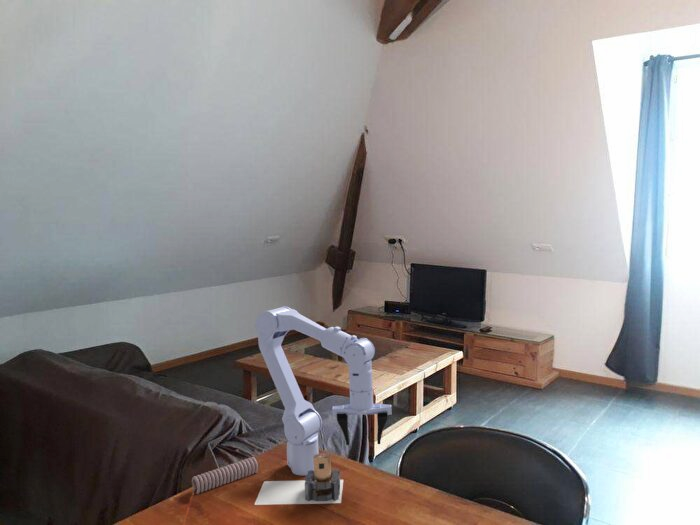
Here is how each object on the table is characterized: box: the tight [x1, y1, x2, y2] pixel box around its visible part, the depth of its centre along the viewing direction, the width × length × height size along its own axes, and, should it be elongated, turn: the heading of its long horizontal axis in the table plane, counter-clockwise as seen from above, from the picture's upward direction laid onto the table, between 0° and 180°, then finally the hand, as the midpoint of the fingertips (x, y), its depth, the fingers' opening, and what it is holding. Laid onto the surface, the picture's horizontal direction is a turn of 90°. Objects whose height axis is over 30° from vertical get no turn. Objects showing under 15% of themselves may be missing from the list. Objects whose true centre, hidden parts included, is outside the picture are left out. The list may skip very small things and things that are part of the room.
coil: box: [191, 456, 259, 496], centre depth 143 cm, size 5×5×18 cm
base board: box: [254, 479, 344, 506], centre depth 135 cm, size 20×12×1 cm, turn 88°
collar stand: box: [304, 469, 341, 501], centre depth 134 cm, size 8×8×4 cm
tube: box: [313, 452, 332, 494], centre depth 133 cm, size 4×4×9 cm
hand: (363, 443), depth 139 cm, fingers open, 7 cm apart
